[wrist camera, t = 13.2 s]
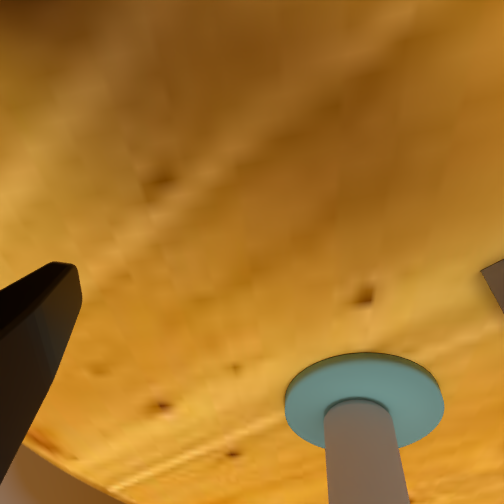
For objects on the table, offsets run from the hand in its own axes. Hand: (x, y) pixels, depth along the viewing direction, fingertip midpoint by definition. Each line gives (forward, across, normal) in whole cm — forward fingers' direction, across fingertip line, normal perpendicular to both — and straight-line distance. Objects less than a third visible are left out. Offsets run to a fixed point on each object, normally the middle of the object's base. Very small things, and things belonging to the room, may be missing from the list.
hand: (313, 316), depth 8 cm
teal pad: (+13, -8, +21) cm, 26 cm away
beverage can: (+12, -8, +21) cm, 26 cm away
